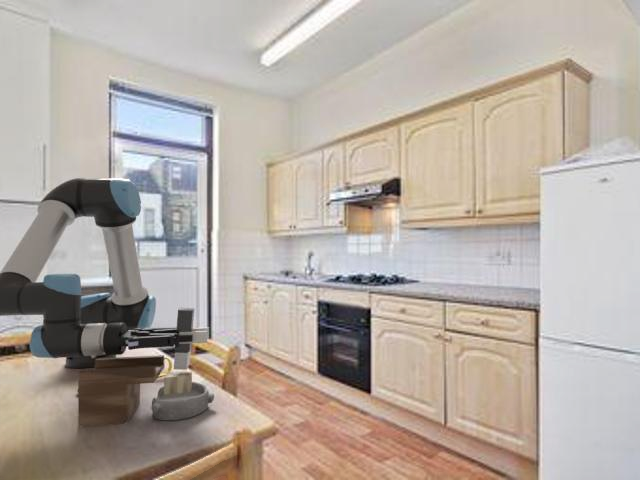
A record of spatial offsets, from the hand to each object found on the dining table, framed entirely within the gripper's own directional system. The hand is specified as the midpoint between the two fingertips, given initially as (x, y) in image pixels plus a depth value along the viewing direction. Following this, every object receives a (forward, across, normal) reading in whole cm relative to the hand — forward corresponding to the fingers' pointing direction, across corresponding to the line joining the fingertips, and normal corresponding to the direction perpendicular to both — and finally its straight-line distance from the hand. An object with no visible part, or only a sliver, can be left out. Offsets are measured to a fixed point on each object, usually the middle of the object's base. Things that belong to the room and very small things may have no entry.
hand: (207, 334), depth 103 cm
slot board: (-19, 0, -18) cm, 26 cm away
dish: (-6, 0, -18) cm, 19 cm away
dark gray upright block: (-6, 0, -7) cm, 10 cm away
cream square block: (-7, 0, -11) cm, 13 cm away
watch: (-16, -28, -18) cm, 37 cm away
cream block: (-10, 0, -11) cm, 15 cm away
